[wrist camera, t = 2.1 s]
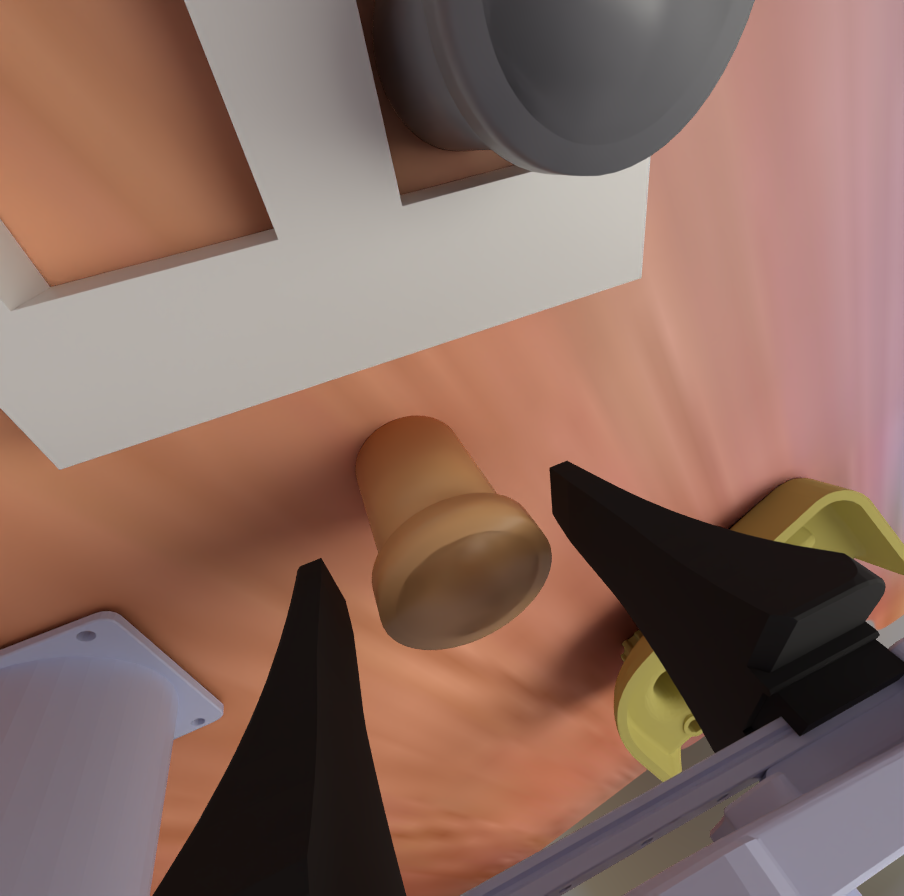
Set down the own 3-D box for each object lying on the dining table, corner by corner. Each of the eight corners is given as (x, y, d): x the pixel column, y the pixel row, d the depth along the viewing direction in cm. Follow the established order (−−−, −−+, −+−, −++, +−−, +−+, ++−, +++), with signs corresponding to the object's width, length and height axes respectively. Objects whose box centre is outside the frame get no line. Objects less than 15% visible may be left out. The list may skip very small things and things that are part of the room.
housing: (86, 428, 12) (59, 469, 10) (-693, -494, 5) (-1184, -830, 3) (600, 265, 14) (641, 278, 13) (614, -473, 7) (710, -646, 6)
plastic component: (848, 471, 24) (935, 586, 26) (746, 447, 31) (819, 538, 33) (584, 712, 25) (686, 804, 27) (544, 635, 32) (627, 712, 34)
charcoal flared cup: (388, 188, 11) (477, 210, 7) (320, -94, 8) (395, -416, 4) (552, 146, 12) (737, 138, 7) (541, -125, 9) (831, -420, 5)
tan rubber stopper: (367, 531, 17) (406, 672, 12) (323, 434, 14) (353, 569, 10) (478, 487, 18) (555, 604, 13) (458, 386, 15) (546, 489, 10)
